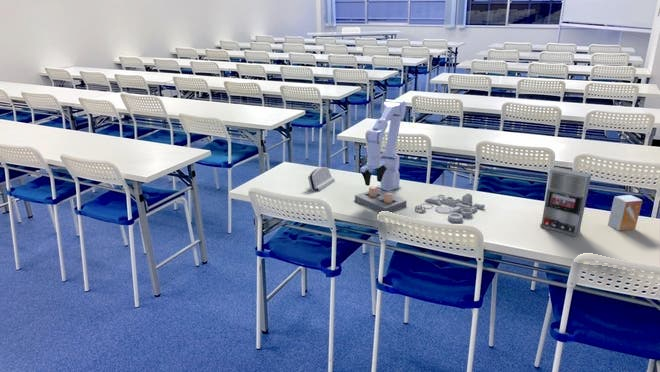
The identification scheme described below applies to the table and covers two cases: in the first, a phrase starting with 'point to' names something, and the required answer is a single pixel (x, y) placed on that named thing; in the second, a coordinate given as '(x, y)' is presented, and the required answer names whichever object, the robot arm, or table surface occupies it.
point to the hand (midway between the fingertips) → (373, 183)
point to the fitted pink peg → (388, 198)
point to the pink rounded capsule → (372, 192)
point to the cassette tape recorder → (565, 200)
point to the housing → (380, 201)
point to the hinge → (320, 178)
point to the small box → (625, 212)
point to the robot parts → (454, 213)
